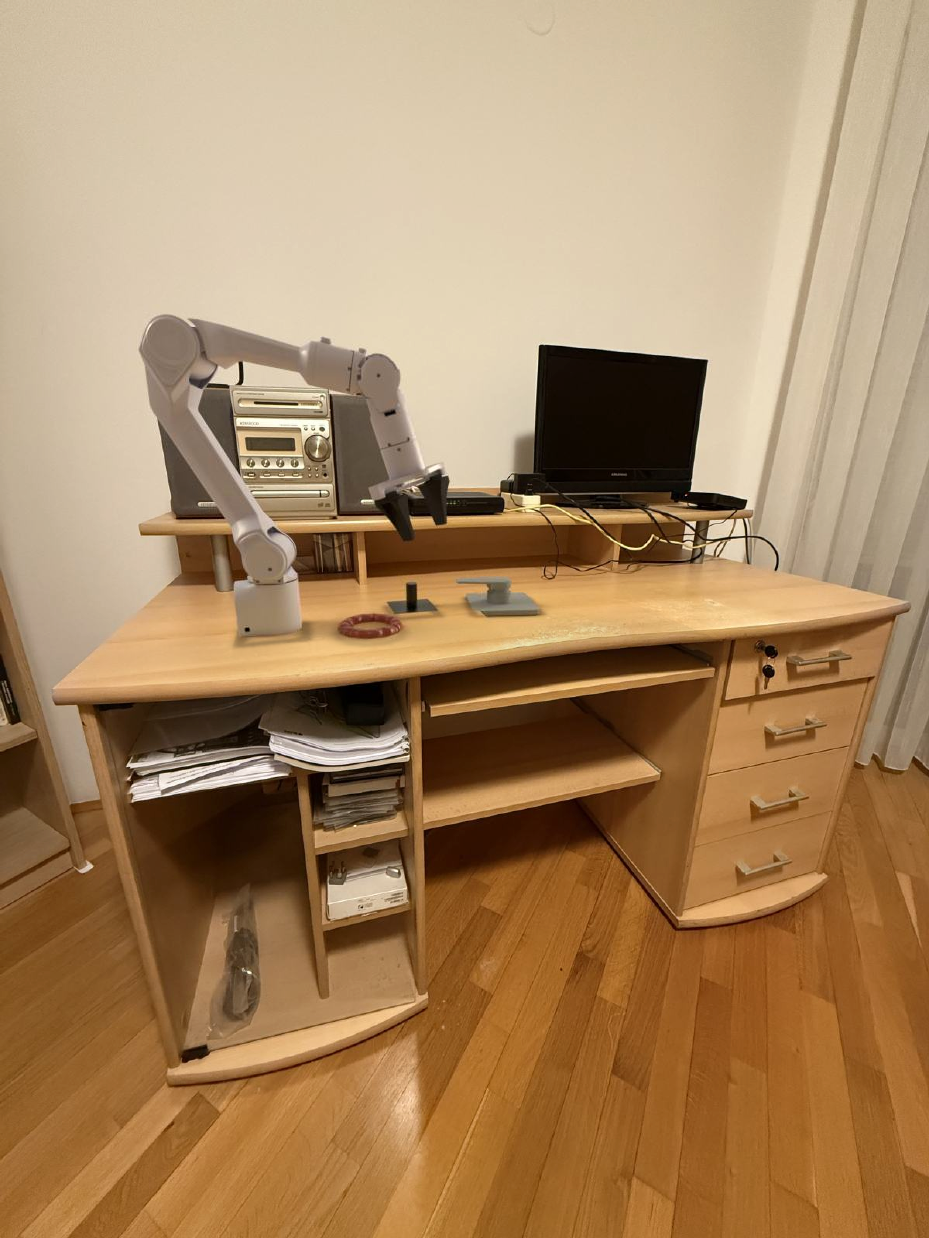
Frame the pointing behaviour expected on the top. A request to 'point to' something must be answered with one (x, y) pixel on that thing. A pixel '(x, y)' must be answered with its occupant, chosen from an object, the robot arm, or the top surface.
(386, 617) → the ring
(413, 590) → the peg stand
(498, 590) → the shower valve
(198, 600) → the top surface
